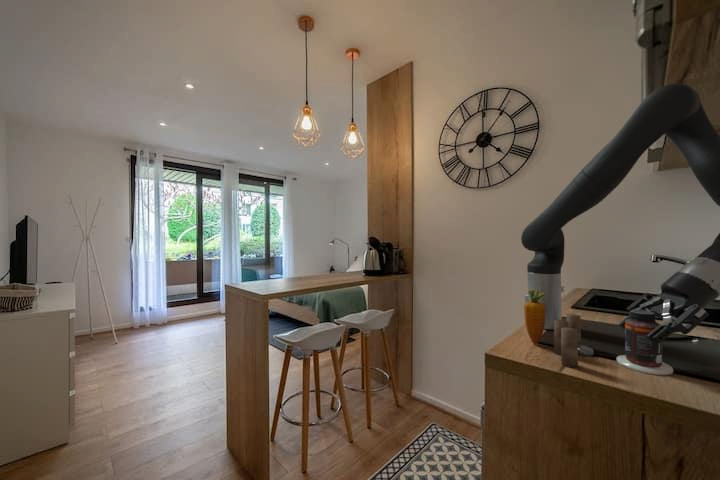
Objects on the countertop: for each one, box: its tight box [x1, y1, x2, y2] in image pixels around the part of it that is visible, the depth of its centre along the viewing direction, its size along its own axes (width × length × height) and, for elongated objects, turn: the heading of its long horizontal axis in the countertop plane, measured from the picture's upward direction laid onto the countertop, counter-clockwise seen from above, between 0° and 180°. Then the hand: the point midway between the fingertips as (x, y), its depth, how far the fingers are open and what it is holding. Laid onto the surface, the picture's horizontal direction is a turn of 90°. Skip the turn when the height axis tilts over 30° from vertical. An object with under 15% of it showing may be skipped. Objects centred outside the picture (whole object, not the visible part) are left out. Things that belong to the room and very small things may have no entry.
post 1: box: [553, 319, 569, 356], centre depth 73 cm, size 3×3×8 cm
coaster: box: [616, 354, 674, 376], centre depth 65 cm, size 9×9×1 cm
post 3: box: [560, 327, 579, 369], centre depth 66 cm, size 3×3×8 cm
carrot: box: [523, 289, 545, 345], centre depth 79 cm, size 5×5×15 cm
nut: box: [578, 344, 595, 357], centre depth 73 cm, size 4×4×1 cm
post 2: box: [565, 313, 582, 345], centre depth 78 cm, size 3×3×8 cm
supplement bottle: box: [624, 310, 664, 367], centre depth 65 cm, size 6×6×11 cm
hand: (636, 334), depth 65 cm, fingers open, 8 cm apart
